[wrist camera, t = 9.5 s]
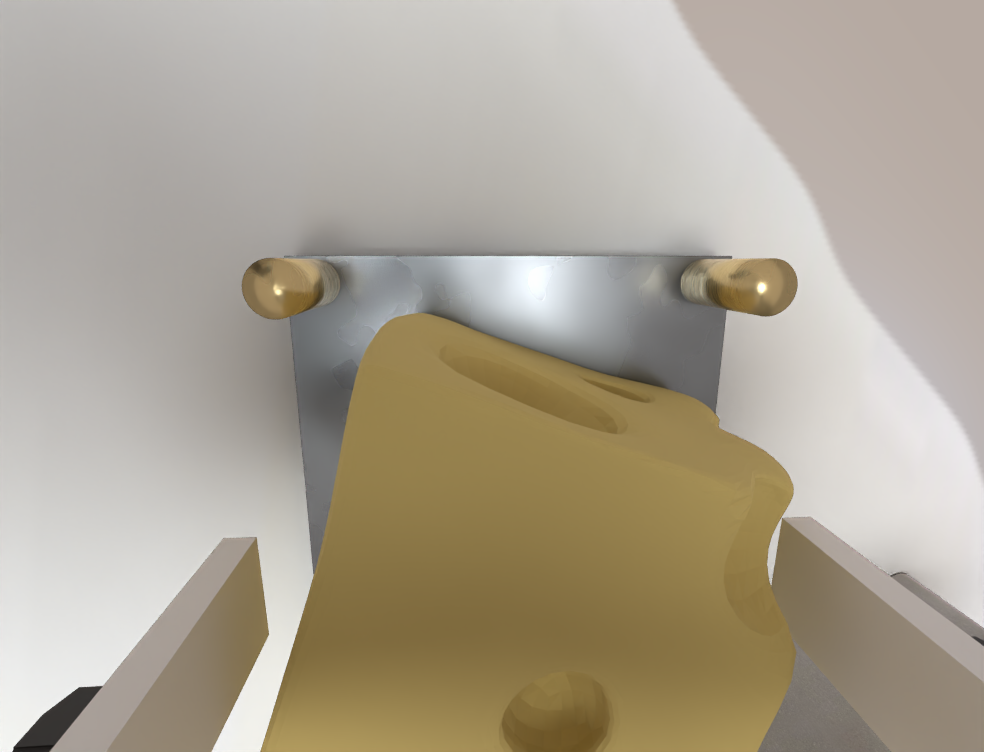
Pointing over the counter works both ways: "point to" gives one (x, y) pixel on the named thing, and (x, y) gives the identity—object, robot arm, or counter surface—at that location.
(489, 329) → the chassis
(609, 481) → the cheese
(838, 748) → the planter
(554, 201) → the counter surface
